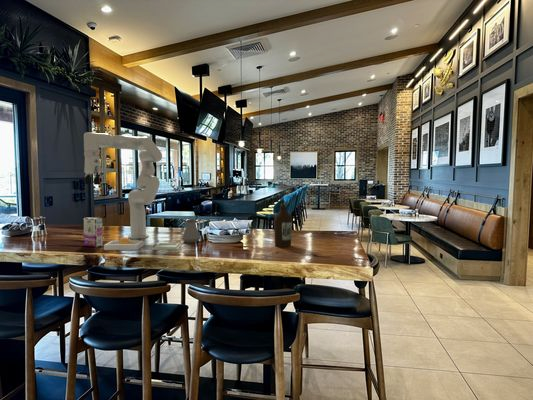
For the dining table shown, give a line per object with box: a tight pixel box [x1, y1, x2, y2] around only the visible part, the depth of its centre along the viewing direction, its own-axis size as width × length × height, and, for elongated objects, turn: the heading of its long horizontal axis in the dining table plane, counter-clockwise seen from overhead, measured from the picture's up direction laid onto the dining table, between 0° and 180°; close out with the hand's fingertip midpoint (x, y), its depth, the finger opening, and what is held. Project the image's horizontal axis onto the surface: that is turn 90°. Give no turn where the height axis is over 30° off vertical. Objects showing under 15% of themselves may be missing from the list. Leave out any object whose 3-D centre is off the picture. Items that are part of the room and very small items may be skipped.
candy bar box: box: [83, 216, 104, 248], centre depth 202 cm, size 11×5×16 cm, turn 62°
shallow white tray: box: [103, 239, 145, 251], centre depth 197 cm, size 12×18×3 cm, turn 94°
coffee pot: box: [181, 214, 201, 244], centre depth 220 cm, size 21×12×15 cm, turn 176°
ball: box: [118, 236, 131, 244], centre depth 197 cm, size 6×6×6 cm
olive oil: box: [273, 203, 293, 249], centre depth 202 cm, size 11×11×25 cm
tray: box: [151, 242, 182, 251], centre depth 199 cm, size 13×14×1 cm
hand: (92, 184), depth 198 cm, fingers open, 9 cm apart
